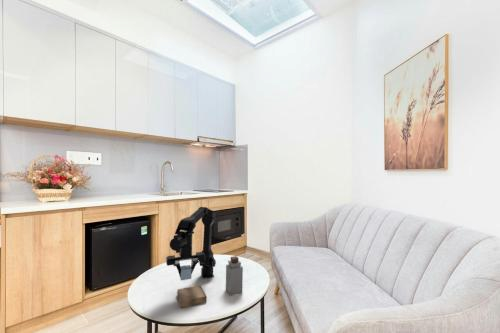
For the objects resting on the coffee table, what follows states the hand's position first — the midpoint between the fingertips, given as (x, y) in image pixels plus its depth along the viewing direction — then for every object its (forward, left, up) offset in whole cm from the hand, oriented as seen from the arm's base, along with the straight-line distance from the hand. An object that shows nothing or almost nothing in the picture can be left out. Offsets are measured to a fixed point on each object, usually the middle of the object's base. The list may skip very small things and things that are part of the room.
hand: (185, 275), depth 114 cm
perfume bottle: (-25, +5, -11) cm, 28 cm away
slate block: (0, 0, -1) cm, 1 cm away
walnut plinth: (-3, +3, -11) cm, 12 cm away
